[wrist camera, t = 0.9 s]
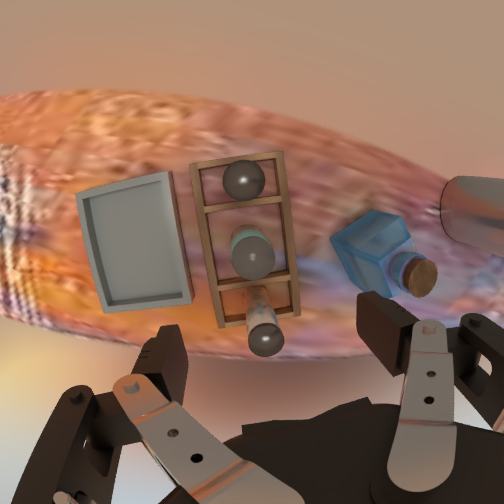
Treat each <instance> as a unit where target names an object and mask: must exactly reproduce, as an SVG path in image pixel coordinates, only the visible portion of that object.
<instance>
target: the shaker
mask: <svg viewBox="0 0 504 504" xmlns="http://www.w3.org/2000/svg"><path fill="white" fill-rule="evenodd" d="M231 261H232V265H233V268H234V270H235V271H236V273H237V274H238V275H240V276H241V277H243V278H245V279H248V280H258V279H261V278H263V277H265V276H266V275H268V274H269V273H270V272H271V270H272V268H273V266H274V263H275V254H274V251H273V248H272V246H271V245H270V243H269V242H268V240H267V239H266V237H265V236H264V234H263V233H262V231H261V230H260V229H259V228H258V227H256V226H253V225H243V226H240V227H239V228H237V229H236V230H235V231H234V232H233V234H232V237H231Z"/></svg>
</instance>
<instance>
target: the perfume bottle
mask: <svg viewBox="0 0 504 504" xmlns="http://www.w3.org/2000/svg"><path fill="white" fill-rule="evenodd" d="M329 239H330V241H331V243H332V244H333V246H334V248H335V250H336V252H337V254H338V256H339V258H340V259H341V261H342V263H343V265H344V267H345V269H346V271H347V273H348V275H349V277H350V279H351V281H352V282H353V283H354V284H355V285H356V286H357V287H359V288H360V289H361V290H362V291H363V292H368V291H372V290H374V291H376V292H377V293H378V294H380V295H381V296H382V297H384V298H387V299H388V298H391V297H393V296H395V295H396V294H397V293H399V292H400V291H401V290H403V291H404V292H406V293H408V294H412V295H413V296H415V297H419V298H420V297H424V296H426V295H427V294H429V293H430V291H431V290H432V289H433V287H434V286H435V283H436V280H437V274H438V273H437V267H436V265H435V264H434V263H433V262H432V261H430V260H428V259H427V258H426V257H425V256H423V255H421V254H419V253H417V251H416V248H415V245H414V243H413V240H412V237H411V235H410V233H409V231H408V229H407V227H406V225H405V223H404V221H403V219H402V217H401V216H397V215H393V214H388V213H384V212H380V211H375V210H371V211H370V212H368V213H367V214H365V215H364V216H362V217H361V218H359V219H358V220H356V221H355V222H353V223H352V224H350V225H349V226H347V227H346V228H344V229H343V230H341V231H340V232H338V233H337V234H335V235H334V236H332V237H331V238H329Z"/></svg>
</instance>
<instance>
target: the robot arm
mask: <svg viewBox="0 0 504 504" xmlns="http://www.w3.org/2000/svg"><path fill="white" fill-rule="evenodd" d="M441 219H442V224H443V227H444V229H445V231H446V233H447V234H448V236H449V237H451V238H452V239H454V240H456V241H459V242H462V243H465V244H468V245H470V246H473V247H476V248H479V249H482V250H484V251H487V252H490V253H493V254H496V255H498V256H501V257H504V179H500V178H488V177H474V176H457V177H455V178H453V179H452V180H450V182H449V183H448V184H447V186H446V188H445V190H444V192H443V195H442V200H441ZM356 327H357V332H358V334H359V336H360V338H361V339H362V340H363V341H364V342H365V344H366V345H367V346H368V347H369V348H370V350H371V351H372V352H373V353H374V354H375V356H376V357H377V358H378V359H379V360H380V362H381V363H382V364H383V365H384V366H385V368H386V369H387V370H388V371H389V372H390V374H391V375H392V376H393V377H395V376H397V375H400V374H403V373H404V374H405V377H404V382H403V387H402V392H401V397H400V401H399V405H394V404H372V403H371V402H370V400H369V399H368V397H365V398H362V399H358V400H356V401H352V402H349V403H345V404H342V405H339V406H337V407H335V408H333V409H331V410H328V411H326V412H324V413H322V414H320V415H318V416H316V417H314V418H311V419H306V420H272V421H268V422H261V423H254V424H247V425H242V434H241V435H239V436H236V437H234V438H231V439H229V440H227V441H226V442H223V443H222V442H220V441H219V440H218V439H217V438H216V437H214V436H213V435H212V434H211V433H210V432H209V431H208V430H206V429H205V428H204V427H203V426H202V425H201V424H200V423H198V421H196V420H195V419H194V418H193V417H192V416H191V415H190V414H189V413H188V412H187V411H186V410H185V409H184V408H183V407H182V404H183V398H184V391H185V385H186V378H187V373H188V357H187V353H186V349H185V346H184V342H183V339H182V335H181V332H180V328H179V326H178V325H177V324H175V325H166V326H161V327H160V329H159V331H158V334H157V336H156V337H155V338H150V339H149V340H148V341H147V342H146V343H145V344H144V345H143V348H142V350H141V353H140V354H139V356H138V359H137V361H136V363H135V366H134V368H133V370H132V372H131V374H130V375H127V376H124V377H122V378H120V379H119V380H118V381H117V382H116V383H115V384H114V386H113V391H112V392H108V393H103V394H98V395H94V393H93V391H92V389H91V388H90V387H88V386H85V385H78V386H74V387H71V388H69V389H68V390H67V391H65V392H64V393H63V394H62V396H61V398H60V399H59V401H58V403H57V405H56V407H55V409H54V410H53V412H52V414H51V416H50V418H49V420H48V422H47V424H46V426H45V428H44V429H43V431H42V433H41V435H40V438H39V440H38V442H37V444H36V446H35V448H34V450H33V452H32V454H31V456H30V459H29V461H28V463H27V465H26V467H25V470H24V472H23V474H22V477H21V479H20V481H19V484H18V486H17V489H16V491H15V494H14V497H13V500H12V502H11V504H111V500H112V494H113V489H114V483H115V478H116V473H117V468H118V463H119V459H120V454H121V450H122V446H123V445H128V444H132V443H137V442H142V444H143V445H144V447H145V448H146V449H147V450H148V452H149V453H150V455H151V456H152V457H153V459H154V460H155V462H156V463H157V464H158V465H159V466H160V468H161V469H162V470H163V472H164V473H165V474H166V476H167V477H168V478H169V480H170V481H171V482H172V483H173V485H174V486H175V487H176V488H175V489H174V490H173V491H172V492H170V493H169V494H168V495H167V496H166V497H165V498H164V499H163V500H162V501H161V502H160V503H158V504H504V329H503V328H501V327H500V326H498V325H497V324H496V323H494V322H493V321H491V320H490V319H488V318H487V317H485V316H483V315H481V314H477V313H469V314H465V315H463V316H462V317H461V321H460V326H459V327H454V328H447V329H446V327H445V325H444V324H442V323H441V322H439V321H436V320H431V319H426V320H419V319H418V318H416V317H415V316H414V315H412V314H411V313H410V312H409V311H406V309H405V308H403V307H401V305H399V304H398V303H397V302H395V301H393V300H390V299H387V298H384V297H382V296H381V295H380V294H378V293H377V292H376V291H374V290H372V291H368V292H364V293H359V294H358V296H357V317H356ZM481 354H482V355H484V356H485V357H486V358H487V359H488V360H489V361H490V362H491V365H492V372H491V375H490V376H489V374H488V373H486V371H484V370H483V369H482V368H481V367H480V366H479V365H478V363H479V361H480V357H481ZM454 385H455V386H456V387H457V389H458V390H460V392H461V393H462V394H463V395H464V396H465V398H466V399H467V400H468V401H469V402H470V403H471V404H472V405H473V407H474V408H475V409H476V410H477V411H478V412H479V414H480V415H481V416H482V417H483V418H484V420H485V421H486V422H487V423H488V424H489V426H490V427H491V428H492V429H493V431H492V430H487V429H483V428H478V427H473V426H470V425H466V424H462V423H458V422H454ZM85 440H86V443H85ZM84 443H85V446H84ZM83 446H84V449H83Z"/></svg>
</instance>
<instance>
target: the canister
mask: <svg viewBox="0 0 504 504" xmlns="http://www.w3.org/2000/svg"><path fill="white" fill-rule="evenodd" d="M243 299H244V307H245V315H246V323H247V331H248V344H249V348H250V350H251V351H252V352H253V353H254V354H256V355H258V356H261V357H269V356H273V355H275V354H277V353H278V352H279V351H280V350H281V349H282V347H283V345H284V336H283V333H282V331H281V329H280V326H279V324H278V321H277V318H276V315H275V312H274V309H273V306H272V303H271V300H270V298H269V295H268V292H267V290H266V289H265V288H264V287H262V286H260V285H256V286H250V287H248V288H247V289H246V290H245V292H244V295H243Z"/></svg>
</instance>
